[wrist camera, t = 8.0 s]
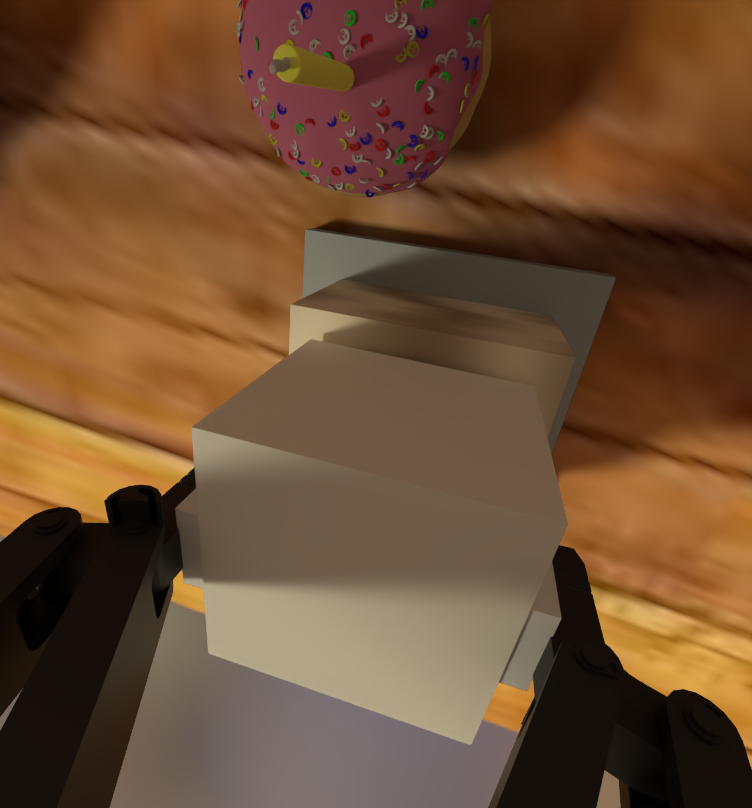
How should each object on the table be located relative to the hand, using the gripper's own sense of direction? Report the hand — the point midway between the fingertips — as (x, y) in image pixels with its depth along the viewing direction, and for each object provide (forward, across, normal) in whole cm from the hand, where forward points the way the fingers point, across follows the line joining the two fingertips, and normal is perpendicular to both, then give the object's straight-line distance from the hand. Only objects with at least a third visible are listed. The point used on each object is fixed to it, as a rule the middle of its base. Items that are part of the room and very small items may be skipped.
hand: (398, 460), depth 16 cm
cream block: (0, 0, 0) cm, 0 cm away
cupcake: (+8, -4, +13) cm, 16 cm away
